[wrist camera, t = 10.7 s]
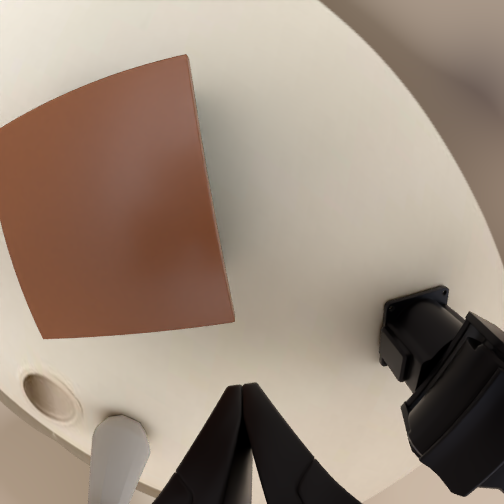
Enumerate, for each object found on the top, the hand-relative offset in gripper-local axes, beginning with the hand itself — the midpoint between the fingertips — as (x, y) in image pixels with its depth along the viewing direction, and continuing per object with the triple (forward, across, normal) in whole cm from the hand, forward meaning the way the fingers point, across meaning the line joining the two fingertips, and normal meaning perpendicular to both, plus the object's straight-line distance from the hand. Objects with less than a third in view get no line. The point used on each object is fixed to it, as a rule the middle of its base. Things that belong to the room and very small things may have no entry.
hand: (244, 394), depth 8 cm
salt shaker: (+12, +14, +16) cm, 25 cm away
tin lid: (+6, +6, -5) cm, 10 cm away
